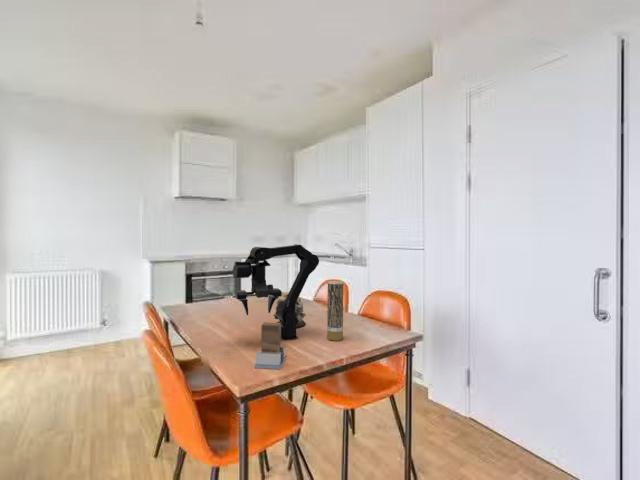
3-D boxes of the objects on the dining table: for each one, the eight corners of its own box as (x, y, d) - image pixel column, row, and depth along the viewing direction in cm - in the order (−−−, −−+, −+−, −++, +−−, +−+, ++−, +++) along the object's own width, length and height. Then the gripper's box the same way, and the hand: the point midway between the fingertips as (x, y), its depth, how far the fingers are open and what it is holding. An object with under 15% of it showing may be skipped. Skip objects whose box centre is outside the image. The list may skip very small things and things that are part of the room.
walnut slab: (264, 358, 126) (264, 322, 126) (280, 358, 125) (280, 322, 125) (261, 361, 122) (261, 324, 122) (278, 362, 122) (278, 325, 121)
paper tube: (342, 336, 156) (342, 280, 155) (343, 341, 149) (344, 283, 148) (326, 336, 155) (327, 280, 155) (327, 341, 149) (328, 283, 148)
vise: (265, 353, 133) (265, 340, 133) (288, 354, 132) (288, 341, 132) (254, 367, 119) (254, 353, 119) (280, 369, 118) (280, 354, 118)
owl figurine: (281, 332, 162) (280, 296, 161) (267, 327, 171) (266, 292, 170) (310, 325, 174) (310, 291, 173) (296, 321, 182) (296, 288, 182)
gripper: (239, 280, 135) (239, 320, 135) (285, 278, 142) (285, 316, 143) (234, 277, 145) (234, 314, 145) (277, 275, 153) (277, 310, 153)
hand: (258, 314), depth 146 cm, fingers open, 9 cm apart
